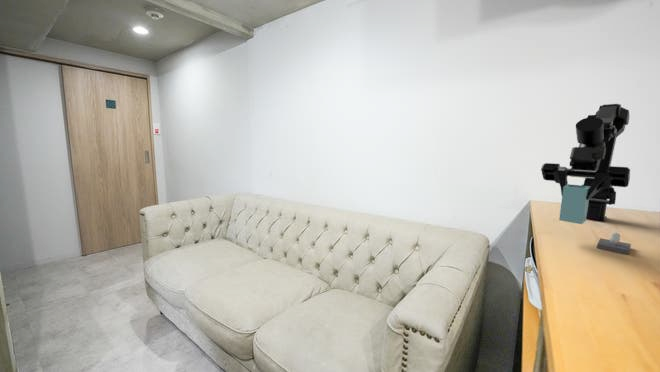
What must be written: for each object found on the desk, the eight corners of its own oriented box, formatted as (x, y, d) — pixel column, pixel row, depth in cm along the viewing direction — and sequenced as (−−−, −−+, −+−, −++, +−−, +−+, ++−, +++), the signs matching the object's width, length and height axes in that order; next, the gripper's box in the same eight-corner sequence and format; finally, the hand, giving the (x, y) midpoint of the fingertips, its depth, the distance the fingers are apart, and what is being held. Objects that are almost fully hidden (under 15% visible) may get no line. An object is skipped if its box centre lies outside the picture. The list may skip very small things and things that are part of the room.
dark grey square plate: (599, 242, 80) (602, 227, 79) (630, 248, 75) (633, 232, 75) (596, 247, 76) (599, 232, 75) (628, 254, 72) (631, 238, 71)
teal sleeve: (563, 216, 83) (568, 184, 82) (585, 220, 80) (590, 186, 78) (559, 220, 80) (563, 186, 79) (581, 224, 77) (587, 188, 75)
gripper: (546, 137, 85) (530, 176, 81) (635, 136, 71) (622, 184, 66) (551, 160, 92) (536, 198, 87) (634, 164, 77) (621, 209, 72)
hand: (574, 197), depth 78 cm, fingers closed on teal sleeve, 5 cm apart
